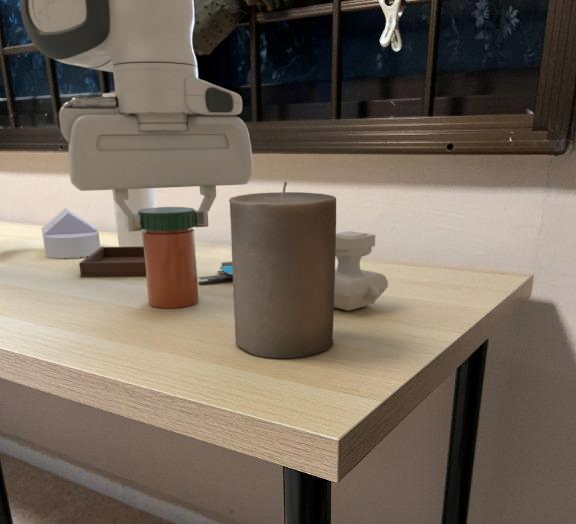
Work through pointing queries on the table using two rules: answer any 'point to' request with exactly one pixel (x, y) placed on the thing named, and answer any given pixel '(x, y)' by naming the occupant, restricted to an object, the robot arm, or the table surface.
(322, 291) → the pillar candle
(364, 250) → the stamp
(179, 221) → the jar lid
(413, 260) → the table surface
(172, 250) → the jar
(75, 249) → the wedge on round base
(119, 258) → the tray
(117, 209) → the cylindrical container
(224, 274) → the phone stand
